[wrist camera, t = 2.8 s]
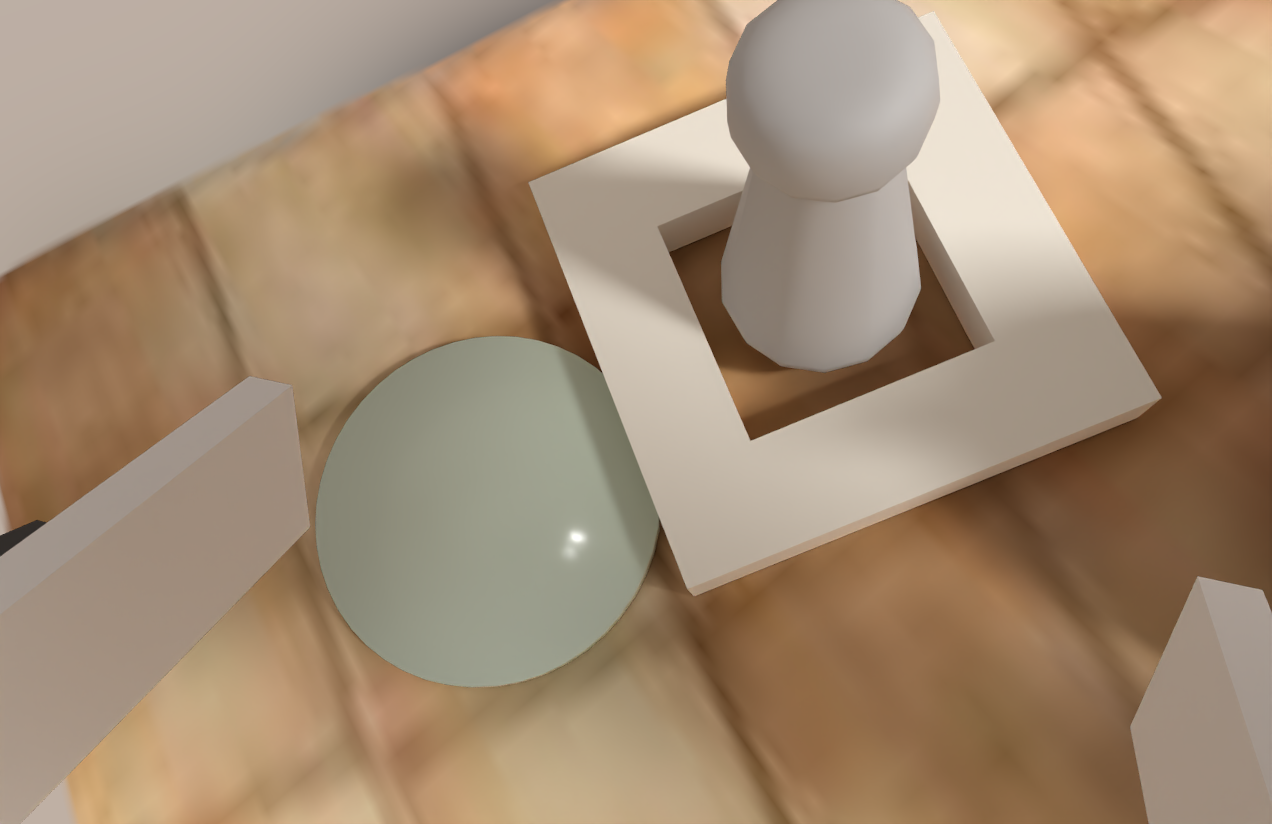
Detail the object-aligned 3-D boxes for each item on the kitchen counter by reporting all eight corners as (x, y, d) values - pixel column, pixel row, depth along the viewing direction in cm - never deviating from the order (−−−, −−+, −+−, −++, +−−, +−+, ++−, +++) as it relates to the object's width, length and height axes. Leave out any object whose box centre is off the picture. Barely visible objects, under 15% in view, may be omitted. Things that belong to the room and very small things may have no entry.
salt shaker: (695, 274, 32) (633, 12, 20) (850, 193, 32) (885, -120, 20) (781, 426, 30) (772, 240, 18) (946, 340, 30) (1050, 94, 18)
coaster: (590, 291, 33) (587, 284, 32) (716, 606, 29) (714, 604, 29) (288, 418, 33) (279, 413, 33) (375, 742, 30) (367, 743, 29)
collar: (925, 50, 33) (933, 11, 31) (1137, 417, 29) (1162, 397, 27) (543, 211, 34) (528, 182, 32) (694, 596, 29) (687, 589, 28)
